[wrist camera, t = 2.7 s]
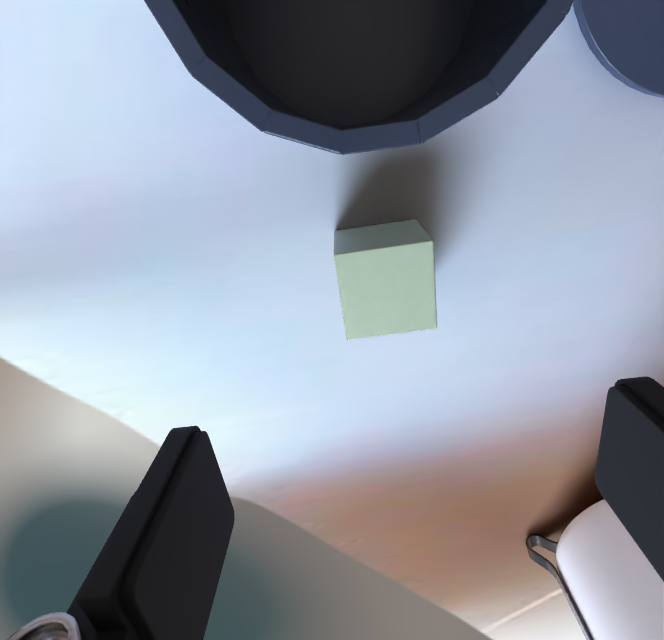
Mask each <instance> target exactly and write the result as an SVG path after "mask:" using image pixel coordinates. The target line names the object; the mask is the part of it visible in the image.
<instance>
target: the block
mask: <svg viewBox="0 0 664 640" xmlns="http://www.w3.org/2000/svg"><path fill="white" fill-rule="evenodd" d="M334 260H335V267H336V273H337V280H338V286H339V293H340V299H341V306H342V312H343V319H344V326H345V332H346V339H347V340H352V339H360V338H367V337H375V336H383V335H391V334H399V333H407V332H414V331H422V330H430V329H436V328H437V311H436V289H435V267H434V245H433V240H432V239H431V237H430V236H429V235H428V234H427V232H426V231H425V230H424V229H423V227H422V226H421V225H420V224H419V223H418V221H417V220H416V219H412V220H405V221H398V222H391V223H384V224H377V225H371V226H364V227H357V228H350V229H343V230H337V231H334Z"/></svg>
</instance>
